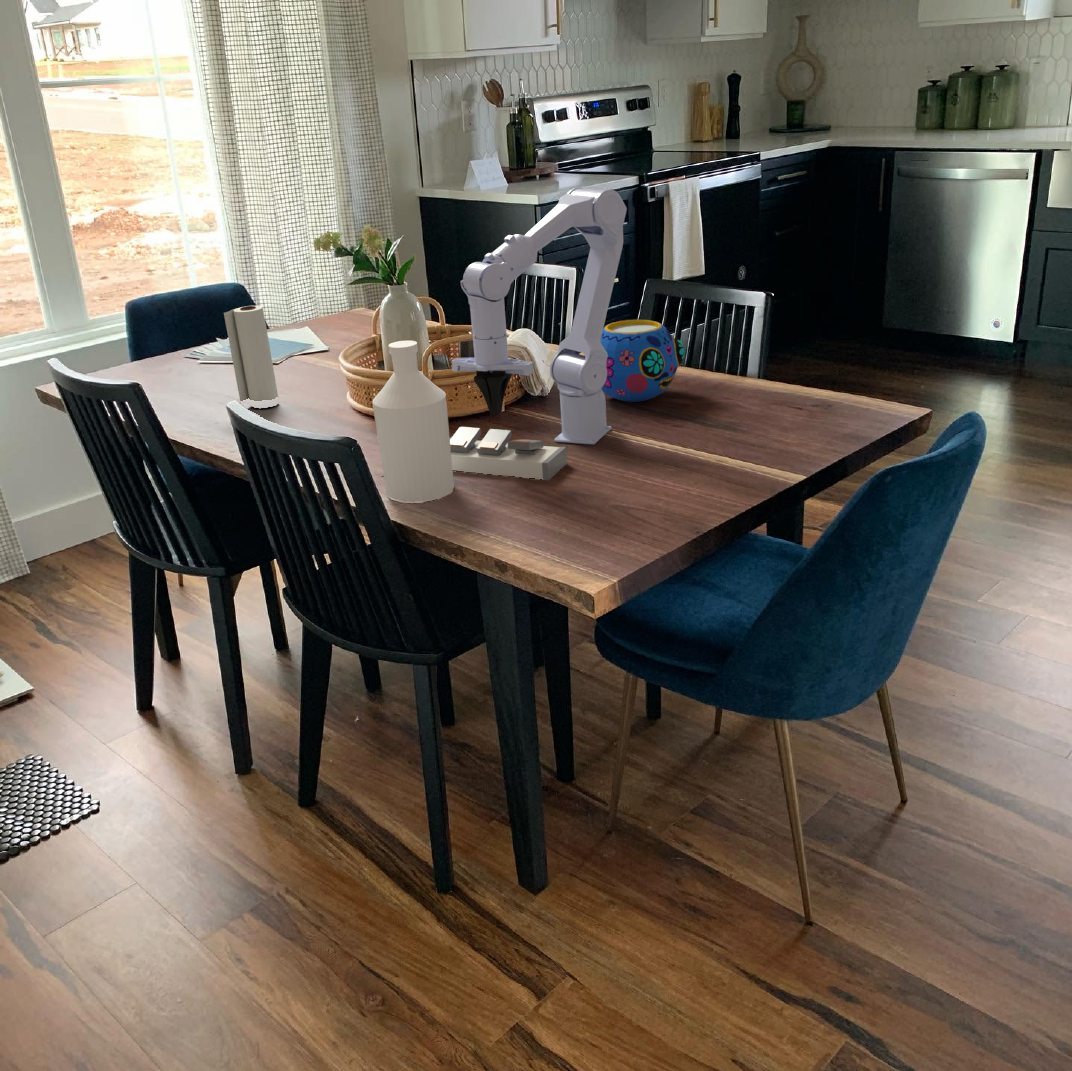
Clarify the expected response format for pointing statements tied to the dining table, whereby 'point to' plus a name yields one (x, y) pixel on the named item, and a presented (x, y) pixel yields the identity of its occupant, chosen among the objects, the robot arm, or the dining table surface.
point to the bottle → (413, 430)
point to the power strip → (513, 462)
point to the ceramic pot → (639, 359)
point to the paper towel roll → (251, 353)
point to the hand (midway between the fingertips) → (495, 413)
